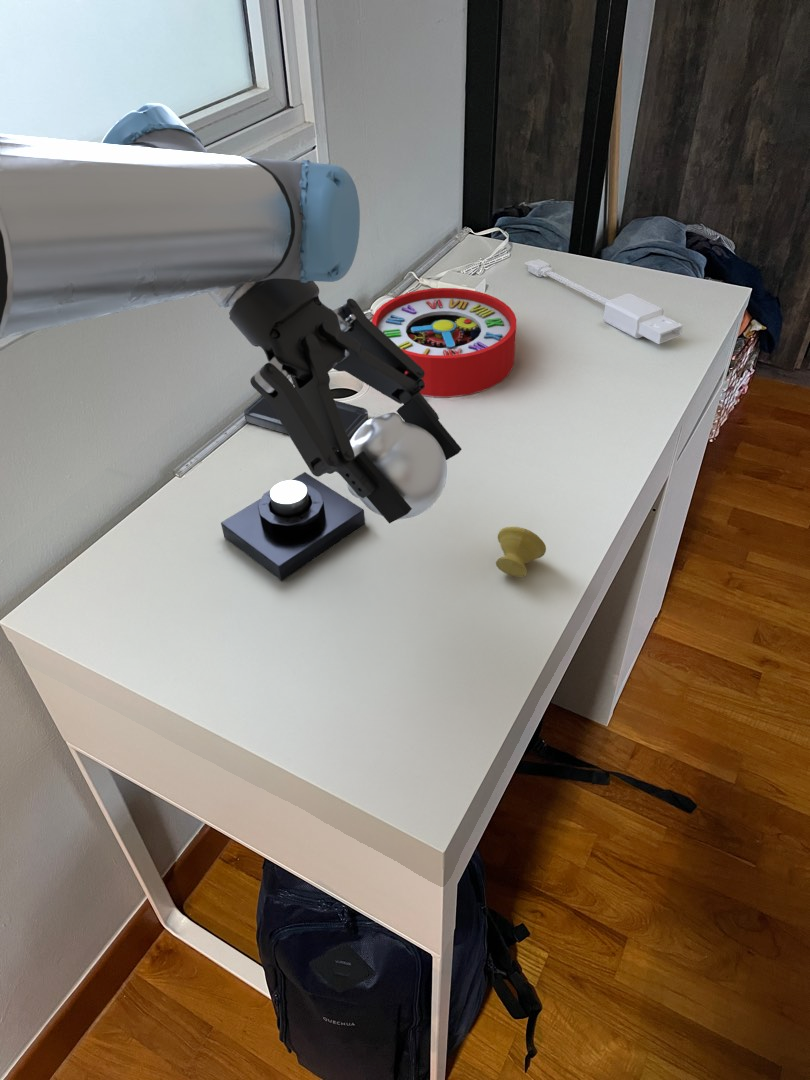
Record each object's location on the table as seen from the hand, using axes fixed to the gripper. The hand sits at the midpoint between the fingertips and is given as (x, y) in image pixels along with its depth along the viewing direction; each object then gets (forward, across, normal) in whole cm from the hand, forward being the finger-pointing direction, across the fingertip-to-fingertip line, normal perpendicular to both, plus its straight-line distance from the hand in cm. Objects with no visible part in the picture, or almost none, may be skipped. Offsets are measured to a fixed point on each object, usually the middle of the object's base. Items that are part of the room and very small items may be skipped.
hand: (426, 485), depth 74 cm
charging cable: (+6, -65, -14) cm, 67 cm away
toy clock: (-4, -41, -24) cm, 47 cm away
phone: (-10, -19, -30) cm, 37 cm away
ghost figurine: (+1, 0, -5) cm, 5 cm away
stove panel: (-3, -1, -22) cm, 22 cm away
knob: (+14, -7, -5) cm, 17 cm away
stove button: (-5, -1, -19) cm, 20 cm away
